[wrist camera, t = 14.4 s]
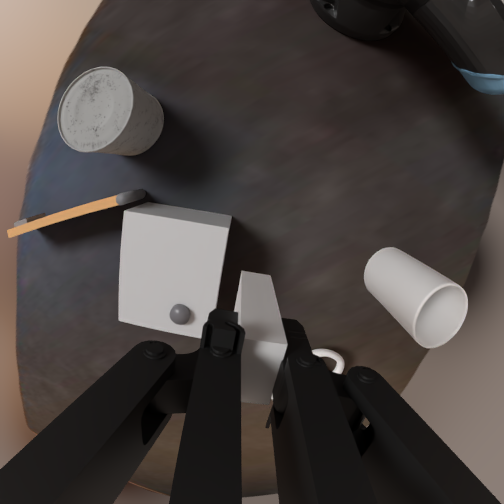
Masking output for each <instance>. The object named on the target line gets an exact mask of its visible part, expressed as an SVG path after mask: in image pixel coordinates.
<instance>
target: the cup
mask: <svg viewBox="0 0 504 504" xmlns="http://www.w3.org/2000/svg"><path fill="white" fill-rule="evenodd" d="M364 282H365V285H366V287H367V289H368V291H369V292H370V293H371V294H372V295H373V296H374V297H375V298H376V299H377V300H378V301H379V302H380V303H381V304H382V305H383V306H384V307H385V308H386V309H387V310H388V312H389V313H390V314H391V315H392V316H393V317H394V318H395V319H396V320H397V321H398V322H399V323H400V324H401V325H402V327H403V328H404V329H405V330H406V331H407V332H408V333H409V334H410V335H411V336H412V337H413V339H414V340H415V341H416V342H417V343H418V344H419V345H421V346H422V347H425V348H436V347H439V346H441V345H443V344H445V343H446V342H448V341H449V340H450V339H451V338H452V337H454V335H455V334H456V333H457V332H458V330H459V329H460V328H461V326H462V324H463V322H464V320H465V317H466V314H467V309H468V298H467V295H466V292H465V291H464V289H463V288H462V287H461V286H459V285H458V284H456V283H455V282H453V281H452V280H450V279H448V278H447V277H445V276H443V275H442V274H440V273H439V272H437V271H435V270H434V269H432V268H430V267H429V266H427V265H425V264H424V263H422V262H420V261H418V260H417V259H415V258H413V257H412V256H410V255H408V254H406V253H405V252H403V251H401V250H399V249H397V248H393V247H388V248H384V249H381V250H379V251H378V252H376V253H375V254H374V255H373V256H372V257H371V258H370V260H369V261H368V263H367V265H366V268H365V271H364Z"/></svg>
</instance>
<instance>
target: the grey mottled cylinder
mask: <svg viewBox="0 0 504 504" xmlns="http://www.w3.org/2000/svg"><path fill="white" fill-rule="evenodd" d="M57 122H58V128H59V132H60V134H61V137H62V138H63V140H64V141H65V143H66V144H67V145H69V146H70V147H71V148H72V149H75V150H77V151H79V152H100V153H111V154H120V155H125V156H132V155H137V154H140V153H143V152H144V151H146V150H148V149H149V148H150V147H151V146H152V145H153V144H154V143H155V142H156V141H157V139H158V138H159V136H160V134H161V132H162V128H163V124H164V114H163V110H162V107H161V105H160V103H159V102H158V101H157V99H156V98H155V97H153V96H152V95H150V94H148V93H147V92H146V91H145V90H143V89H142V88H141V87H139V86H138V85H137V84H135V83H134V82H133V81H131V80H130V79H129V78H127V77H126V76H125V75H124V73H122V72H121V71H119V70H117V69H115V68H111V67H98V68H94V69H91V70H88V71H86V72H84V73H83V74H81V75H80V76H79V77H77V78H76V79H75V80H74V81H73V82H72V83H71V84H70V85H69V87H68V88H67V90H66V91H65V93H64V95H63V97H62V99H61V102H60V105H59V109H58V119H57Z"/></svg>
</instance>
